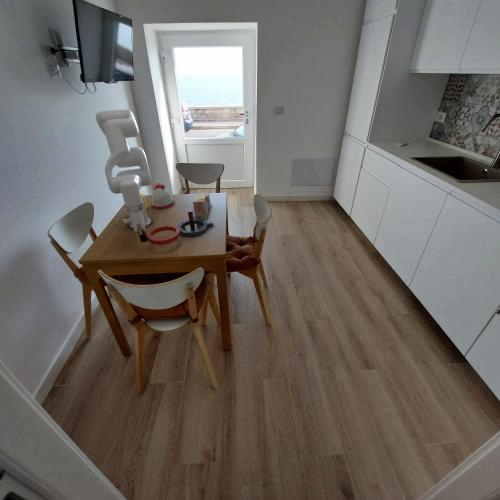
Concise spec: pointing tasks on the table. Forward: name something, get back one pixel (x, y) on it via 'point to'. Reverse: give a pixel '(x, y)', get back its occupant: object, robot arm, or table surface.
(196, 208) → the stack of blocks
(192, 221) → the ring peg
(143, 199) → the tape roll
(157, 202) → the white rounded dome
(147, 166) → the robot arm
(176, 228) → the red ring
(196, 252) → the table surface
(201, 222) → the slate ring
